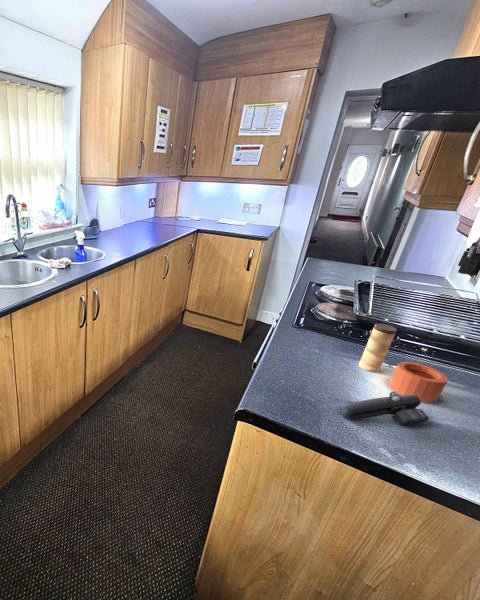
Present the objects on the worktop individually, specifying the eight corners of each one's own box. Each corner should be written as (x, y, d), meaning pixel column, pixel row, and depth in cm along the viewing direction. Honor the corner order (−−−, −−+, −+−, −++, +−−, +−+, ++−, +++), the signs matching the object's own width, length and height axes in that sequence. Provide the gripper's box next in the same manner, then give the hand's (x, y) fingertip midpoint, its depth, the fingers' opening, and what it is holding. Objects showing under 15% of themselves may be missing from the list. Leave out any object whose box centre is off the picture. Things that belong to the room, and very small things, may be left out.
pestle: (373, 367, 96) (392, 325, 90) (380, 376, 92) (400, 332, 86) (355, 364, 97) (371, 322, 92) (361, 372, 93) (379, 329, 88)
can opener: (401, 405, 80) (410, 387, 77) (430, 427, 73) (441, 407, 71) (330, 407, 79) (337, 388, 77) (352, 429, 73) (361, 409, 71)
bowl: (423, 387, 87) (434, 365, 84) (444, 409, 79) (457, 385, 77) (381, 380, 90) (391, 358, 87) (398, 400, 82) (409, 377, 80)
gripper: (531, 205, 69) (491, 281, 76) (521, 200, 80) (487, 267, 87) (478, 201, 74) (444, 273, 81) (475, 198, 85) (446, 261, 92)
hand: (466, 270), depth 84 cm, fingers open, 9 cm apart
